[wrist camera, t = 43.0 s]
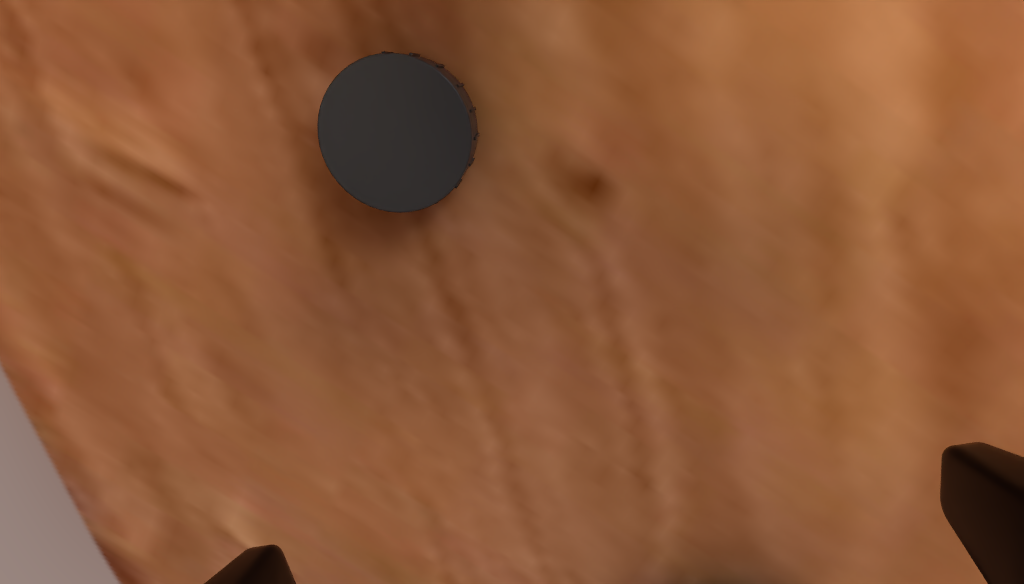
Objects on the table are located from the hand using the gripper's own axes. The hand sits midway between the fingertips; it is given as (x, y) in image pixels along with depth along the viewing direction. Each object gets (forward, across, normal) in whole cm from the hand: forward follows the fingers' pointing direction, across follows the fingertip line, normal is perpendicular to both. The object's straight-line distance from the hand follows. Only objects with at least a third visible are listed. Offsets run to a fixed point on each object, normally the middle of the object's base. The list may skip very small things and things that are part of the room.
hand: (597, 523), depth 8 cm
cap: (+10, +4, -5) cm, 12 cm away
